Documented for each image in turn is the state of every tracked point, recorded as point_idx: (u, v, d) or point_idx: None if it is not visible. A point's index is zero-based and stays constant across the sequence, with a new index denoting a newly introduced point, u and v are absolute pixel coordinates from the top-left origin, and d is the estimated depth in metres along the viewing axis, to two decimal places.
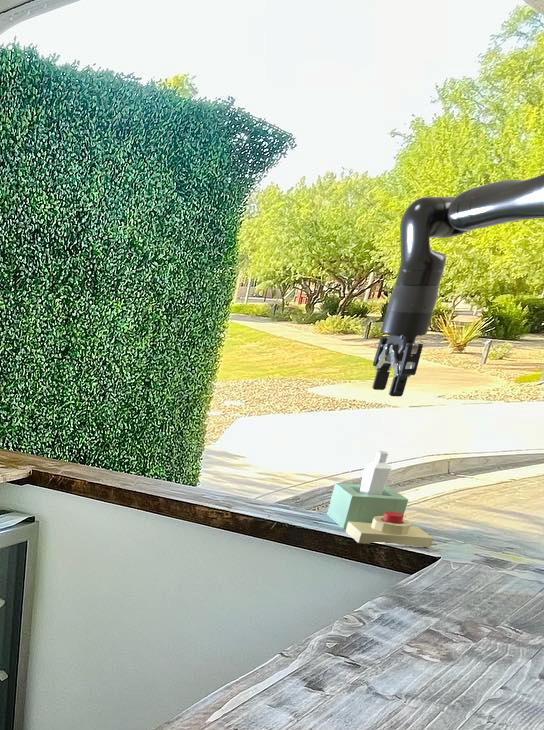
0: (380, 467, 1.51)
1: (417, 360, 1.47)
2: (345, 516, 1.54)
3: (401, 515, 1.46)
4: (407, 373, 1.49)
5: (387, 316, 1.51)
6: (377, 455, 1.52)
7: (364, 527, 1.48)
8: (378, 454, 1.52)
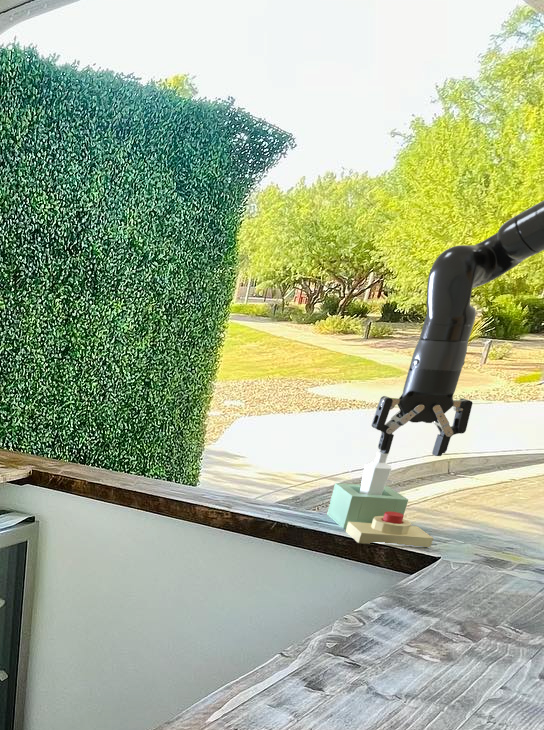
0: (380, 467, 1.51)
1: None
2: (345, 516, 1.54)
3: (401, 515, 1.46)
4: None
5: (446, 376, 1.34)
6: (377, 455, 1.52)
7: (364, 527, 1.48)
8: (378, 454, 1.52)
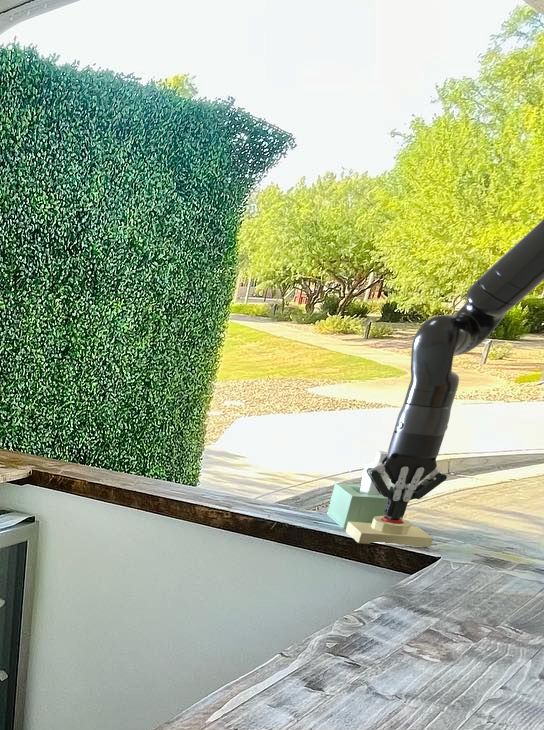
0: None
1: None
2: (345, 516, 1.54)
3: (400, 520, 1.46)
4: None
5: (429, 440, 1.37)
6: (377, 455, 1.52)
7: (364, 527, 1.48)
8: (378, 454, 1.52)
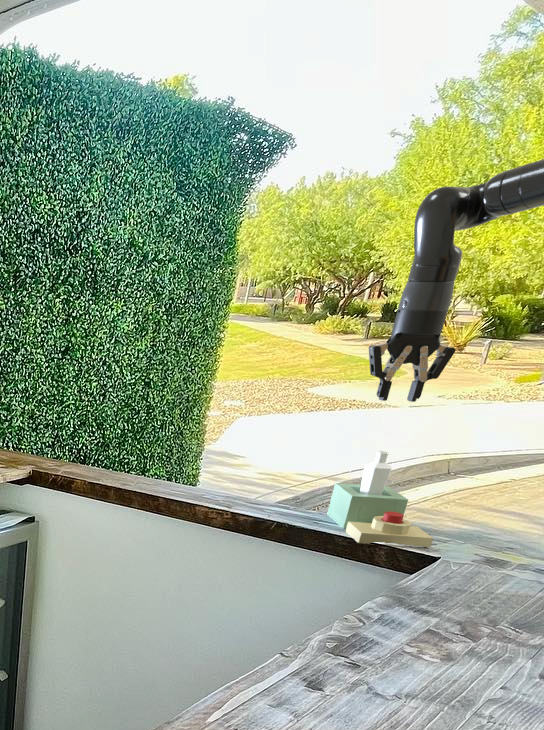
0: (380, 467, 1.51)
1: None
2: (345, 516, 1.54)
3: (401, 515, 1.46)
4: None
5: (433, 316, 1.38)
6: (377, 455, 1.52)
7: (364, 527, 1.48)
8: (378, 454, 1.52)
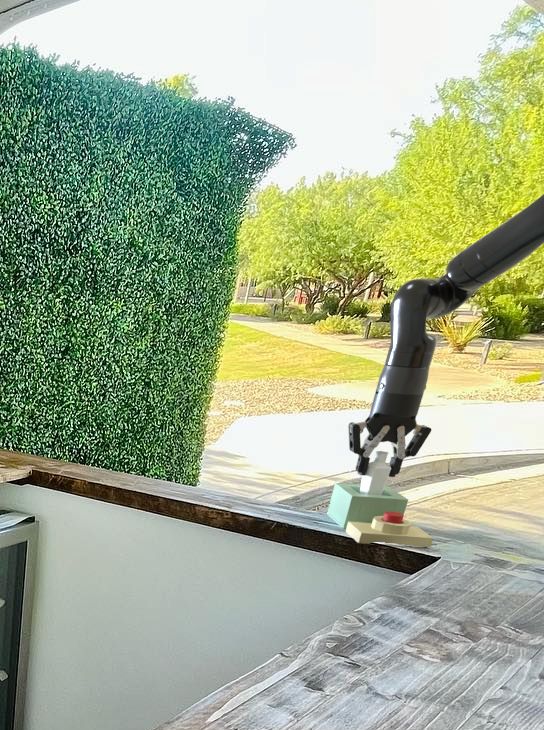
0: (379, 467, 1.51)
1: None
2: (345, 516, 1.54)
3: (401, 515, 1.46)
4: None
5: (409, 399, 1.44)
6: (376, 455, 1.52)
7: (364, 527, 1.48)
8: (377, 454, 1.52)
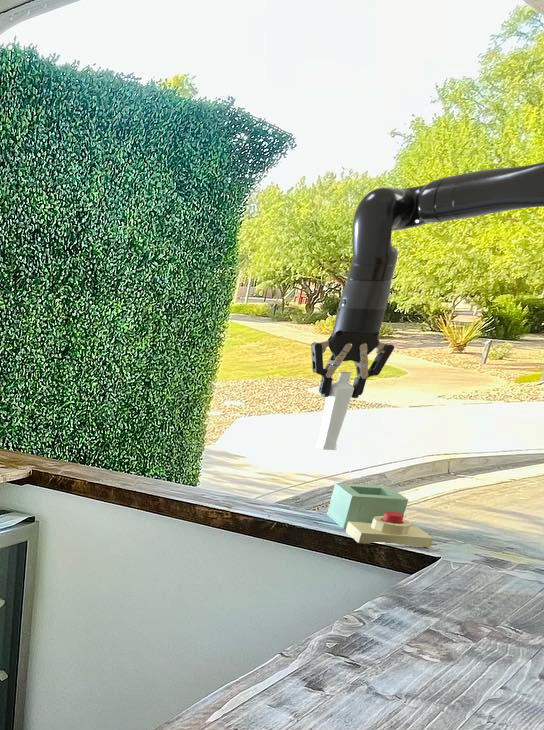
0: (342, 387, 1.49)
1: None
2: (345, 516, 1.54)
3: (401, 515, 1.46)
4: None
5: (370, 314, 1.41)
6: (340, 375, 1.49)
7: (364, 527, 1.48)
8: (340, 374, 1.49)
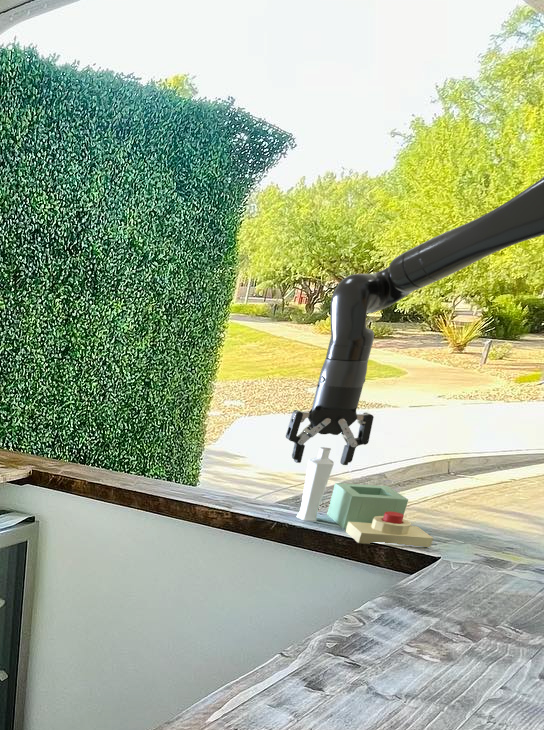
0: (322, 462, 1.54)
1: None
2: (345, 516, 1.54)
3: (401, 515, 1.46)
4: None
5: (348, 392, 1.47)
6: (320, 451, 1.55)
7: (364, 527, 1.48)
8: (321, 450, 1.55)
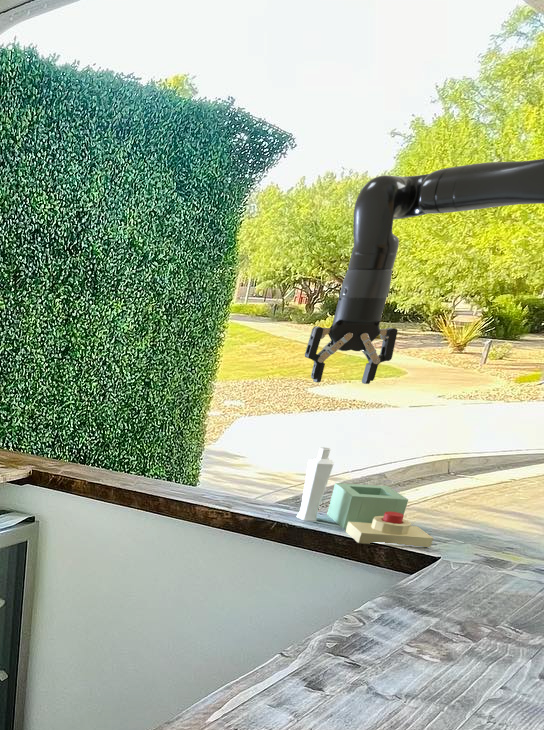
0: (322, 462, 1.54)
1: None
2: (345, 516, 1.54)
3: (401, 515, 1.46)
4: None
5: (371, 303, 1.41)
6: (320, 451, 1.55)
7: (364, 527, 1.48)
8: (321, 450, 1.55)
